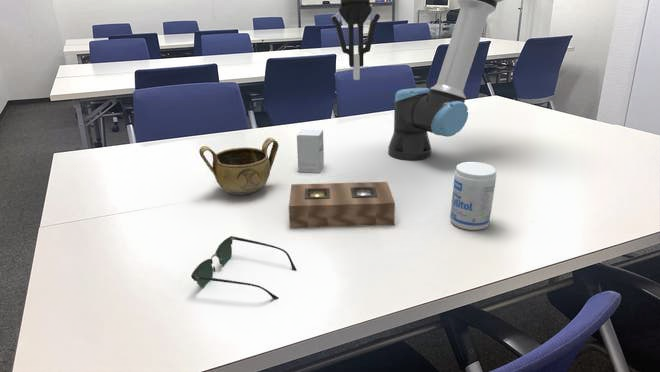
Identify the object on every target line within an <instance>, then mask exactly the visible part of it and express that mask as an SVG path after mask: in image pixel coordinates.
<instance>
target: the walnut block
mask: <svg viewBox="0 0 660 372" xmlns="http://www.w3.org/2000/svg"><path fill="white" fill-rule="evenodd" d="M359 190H369V191H371V193H372V195H357V196H356V192H357V191H359ZM314 191H322V192H324V193H325V196H320V197H310V193H311V192H314ZM289 193H290V194H289V200H288V215H289V216H288V218H289V228H290V229H299V228H301V229H302V228H303V229H305V228H331V227H332V228H334V227H337V228H338V227H366V226H367V227H368V226H371V227H372V226H373V227H374V226H394V225H395V213H396V212H395V211H396V202H395V200H394V196H393V195H392V194H393V193H392V191H391V189H390V186H389V183H388V181H369V182H366V181H365V182H364V181H362V182H334V183H333V182H332V183H330V182H329V183H325V182H324V183H299V184H298V183H295V184H292V183H291V185H290V192H289Z"/></svg>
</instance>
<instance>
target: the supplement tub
mask: <svg viewBox="0 0 660 372" xmlns="http://www.w3.org/2000/svg"><path fill="white" fill-rule="evenodd" d="M496 181H497V169H496V167H494V165H491V164H488V163H484V162H478V161H465V162H461V163H458V164H457V165H456V168H455V172H454V178H453V186H452V196H451V205H450V206H451V207H450V216H449V217H450V218H449V219H450V222H451V223H452V224H453V225H454V226H456V227H457V228H460V229H463V230H468V231H481V230H483V229H485V228H487V227H488V226H489V225H490V222H491V221H490V220H491V213H492V207H493V201H494V193H495V188H496V186H495V185H496Z"/></svg>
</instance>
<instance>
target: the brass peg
mask: <svg viewBox="0 0 660 372" xmlns="http://www.w3.org/2000/svg"><path fill="white" fill-rule="evenodd" d="M320 196H325V193H324V192H322V191H314V192H311V193H310V197H320Z"/></svg>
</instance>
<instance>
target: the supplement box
mask: <svg viewBox="0 0 660 372" xmlns="http://www.w3.org/2000/svg"><path fill="white" fill-rule="evenodd" d="M296 148H297V152H296V153H297V172H299V173H314V174H319V173H321V171H322V169H323V168H324V165H325V164H324V163H325V159H324V158H325V157H324V156H325V155H324V149H325V148H324V129H315V128H314V129H313V128H311V129H310V128H309V129H307V128H306V129H301V130H300V131H299V132H298V133H297V134H296Z"/></svg>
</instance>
